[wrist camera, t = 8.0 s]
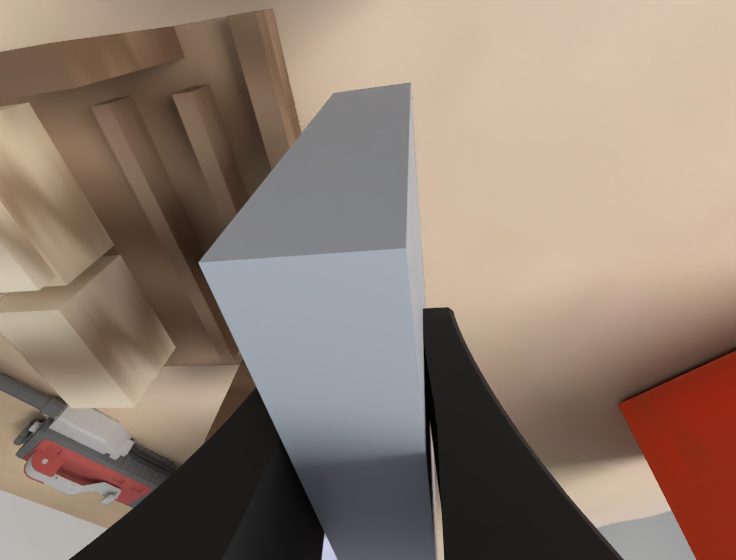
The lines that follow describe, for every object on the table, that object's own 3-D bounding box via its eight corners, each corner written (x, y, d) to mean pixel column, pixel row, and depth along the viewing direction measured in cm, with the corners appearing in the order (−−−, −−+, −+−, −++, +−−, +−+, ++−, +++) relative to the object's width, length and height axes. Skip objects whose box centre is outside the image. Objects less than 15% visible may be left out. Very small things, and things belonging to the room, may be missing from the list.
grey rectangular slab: (429, 356, 16) (440, 609, 9) (379, 357, 16) (357, 602, 10) (410, 82, 10) (405, 248, 3) (333, 93, 10) (198, 262, 4)
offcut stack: (175, 347, 25) (135, 407, 21) (119, 349, 25) (71, 408, 22) (28, 102, 16) (-81, 133, 13) (-49, 114, 17) (-174, 146, 13)
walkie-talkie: (204, 459, 36) (-27, 336, 28) (181, 510, 32) (-89, 385, 25) (159, 485, 40) (-54, 383, 32) (134, 533, 37) (-111, 431, 29)
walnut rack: (351, 349, 25) (333, 453, 19) (128, 356, 27) (54, 450, 22) (272, 9, 14) (183, 19, 9) (-76, 70, 17) (-318, 108, 11)
